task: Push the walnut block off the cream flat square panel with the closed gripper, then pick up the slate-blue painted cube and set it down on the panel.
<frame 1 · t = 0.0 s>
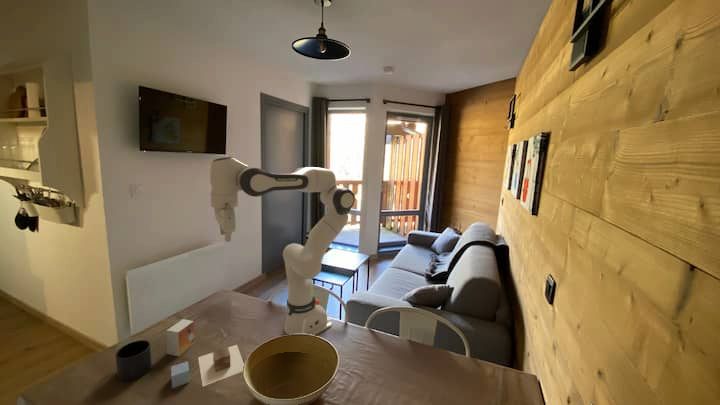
hand: (225, 237, 101), 48 cm above the table, fingers open, 8 cm apart
cube: (180, 381, 94), on the table
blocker: (221, 365, 101), resting on cream flat square panel
small box: (181, 349, 109), on the table
mug: (132, 371, 97), on the table
cream flat square panel: (221, 364, 102), on the table
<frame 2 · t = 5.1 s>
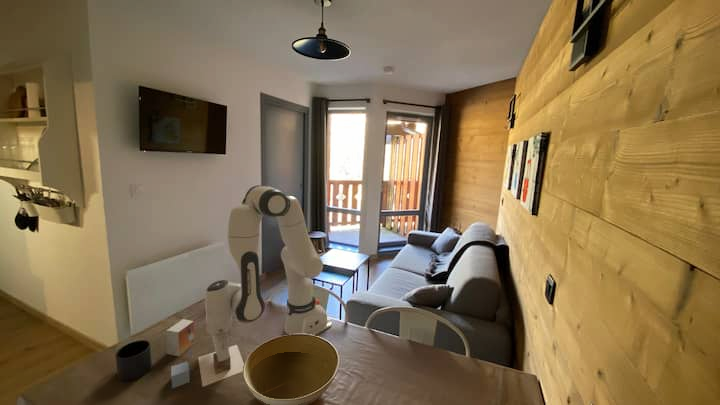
hand: (219, 355, 104), 2 cm above the table, fingers closed
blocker: (222, 367, 100), resting on cream flat square panel, touching gripper
everything else where it was.
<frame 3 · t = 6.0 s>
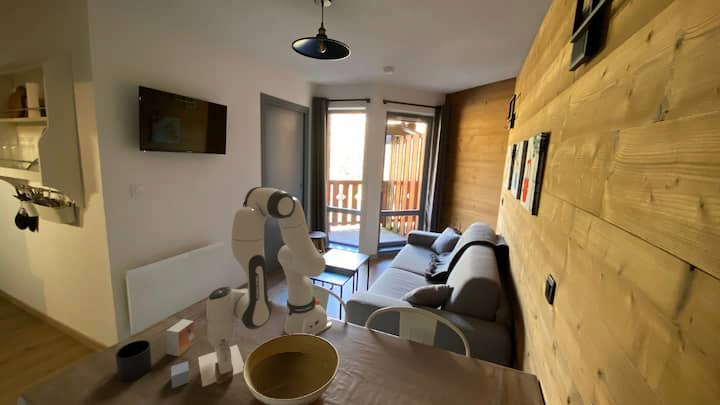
hand: (222, 366, 99), 2 cm above the table, fingers closed
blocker: (223, 375, 96), point 1 cm above the table, tilted 17°, touching gripper
everything else where it was.
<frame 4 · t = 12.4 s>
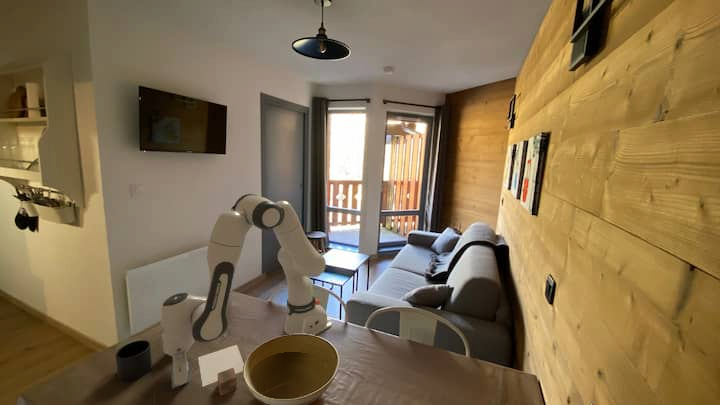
hand: (180, 376, 94), 2 cm above the table, fingers closed on cube, 5 cm apart
cube: (180, 380, 94), on the table, touching gripper
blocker: (227, 388, 92), on the table
everything else where it was.
when the fingers open (3 cm above the table, at t = 17.8 s): cube drops 1 cm, resting on cream flat square panel.
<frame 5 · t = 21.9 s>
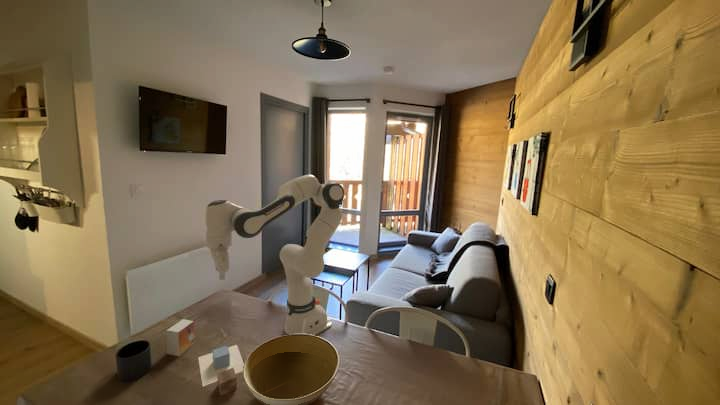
hand: (220, 274, 108), 31 cm above the table, fingers open, 8 cm apart
cube: (221, 363, 102), resting on cream flat square panel
everything else where it was.
at the end: cube inside the target area on the cream flat square panel (0.1 cm from its centre), point 0.3 cm above the cream flat square panel's base; cube tilted 0°; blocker touching table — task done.
